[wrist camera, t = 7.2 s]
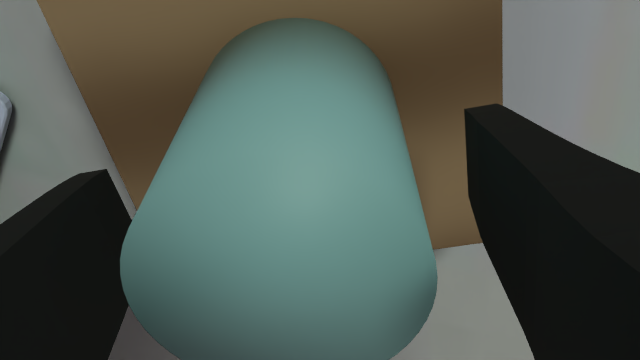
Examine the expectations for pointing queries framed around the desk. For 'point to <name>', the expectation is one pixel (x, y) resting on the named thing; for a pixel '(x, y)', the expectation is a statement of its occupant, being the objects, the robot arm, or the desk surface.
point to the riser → (270, 4)
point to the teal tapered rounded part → (284, 209)
